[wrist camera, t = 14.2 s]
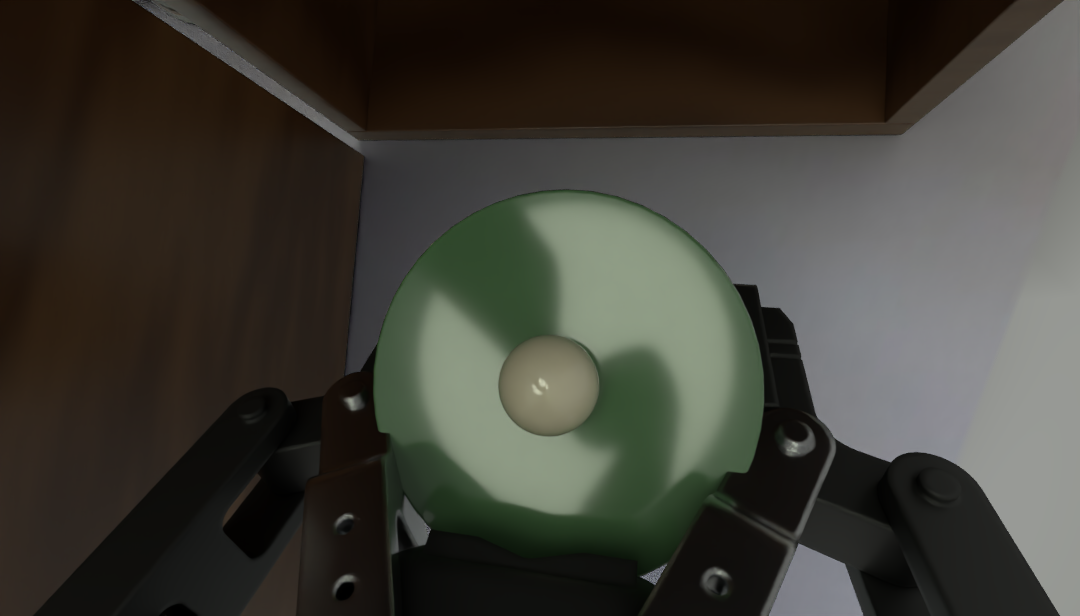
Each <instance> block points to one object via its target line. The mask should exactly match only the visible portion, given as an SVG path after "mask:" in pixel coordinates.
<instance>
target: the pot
mask: <svg viewBox="0 0 1080 616" xmlns="http://www.w3.org/2000/svg"><path fill="white" fill-rule="evenodd" d="M373 397H374V409H375V418H376V422H377V427H378V431H380V432H383V433H390V437H391V441H392V445H393V450H394V454H395V458H396V462H397V467H398V471H399V475H400V479H401V484H402V488H403V491H404V495H405V496H406V498H407V499H408V501H409V502H410V504H411V506H412V507H413V508H414V510H415V511H416V512H417V513H418V514H419V516H420V517H421V518H422V519H423V520H424V522H425V523H426V524H427V525H428V526H429V527H430V528H431V529H432V530H438V531H445V532H451V533H458V534H465V535H471V536H478V537H480V538H483V539H485V540H487V541H489V542H491V543H493V544H496V545H498V546H500V547H502V548H504V549H506V550H509V551H511V552H513V553H515V554H517V555H519V556H522V557H524V558H540V557H549V556H558V555H566V554H575V553H590V554H596V555H603V556H609V557H616V558H623V559H629V560H636V561H638V564H637V576H638V577H640V576H643V575H646V574H648V573H650V572H652V571H654V570H656V569H658V568H660V567H662V566H664V565H666V564H668V562H669V560H670V559H671V557H672V555H673V554H674V552H675V550H676V548H677V547H678V545H679V543H680V541H681V540H682V538H683V536H684V535H685V533H686V531H687V529H688V528H689V526H690V524H691V522H692V521H693V519H694V517H695V516H696V514H697V512H698V510H699V509H700V507H701V505H702V504H703V502H704V501H705V499H706V498H707V497H708V496H709V495H710V494H712V495H713V494H714V493H715V492H716V490H717V489H718V487H719V485H720V483H721V482H722V480H723V478H724V476H725V475H726V473H727V471H729V472H738V473H745V472H748V470H749V468H750V466H751V464H752V461H753V459H754V456H755V452H756V448H757V445H758V441H759V437H760V433H761V429H762V420H763V411H764V402H765V399H764V371H763V365H762V359H761V353H760V347H759V343H758V340H757V337H756V333H755V330H754V327H753V324H752V321H751V318H750V316H749V313H748V311H747V309H746V307H745V305H744V303H743V301H742V299H741V296H740V294H739V292H738V291H737V289H736V288H735V286H734V285H733V283H732V282H731V280H730V278H729V277H728V275H727V274H726V272H725V271H724V269H723V268H722V267H721V266H720V265H719V264H718V262H717V261H716V260H715V259H714V258H713V256H712V255H711V254H710V253H709V252H708V251H707V249H705V248H704V247H703V246H702V245H701V244H700V243H699V242H698V241H697V240H695V239H694V238H693V237H692V236H691V235H690V234H689V233H688V232H687V231H685V230H684V229H682V228H681V227H679V226H678V225H676V224H675V223H673V222H672V221H670V220H669V219H668V218H666V217H665V216H663V215H661V214H659V213H657V212H655V211H653V210H651V209H649V208H647V207H645V206H643V205H640V204H638V203H635V202H632V201H629V200H626V199H623V198H620V197H618V196H613V195H608V194H603V193H599V192H594V191H583V190H569V189H564V190H547V191H538V192H533V193H528V194H522V195H518V196H515V197H512V198H508V199H505V200H502V201H499V202H496V203H494V204H492V205H490V206H487V207H485V208H483V209H481V210H479V211H477V212H475V213H473V214H471V215H470V216H468V217H467V218H465V219H463V220H462V221H460V222H459V223H457V224H456V225H454V226H453V227H451V228H450V229H449V230H448V231H447V232H445V233H444V234H443V235H442V236H441V237H439V238H438V239H437V240H436V241H435V242H434V243H433V244H432V245H431V246H430V247H429V248H428V249H427V250H426V251H425V252H424V253H423V254H422V255H421V256H420V258H419V259H418V260H417V261H416V263H415V264H414V265H413V267H412V268H411V269H410V271H409V272H408V274H407V275H406V276H405V278H404V279H403V281H402V283H401V285H400V287H399V288H398V290H397V292H396V294H395V296H394V297H393V299H392V302H391V304H390V307H389V309H388V311H387V314H386V316H385V319H384V321H383V325H382V329H381V332H380V336H379V340H378V343H377V349H376V356H375V363H374V376H373Z"/></svg>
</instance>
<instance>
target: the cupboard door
mask: <svg viewBox="0 0 1080 616" xmlns="http://www.w3.org/2000/svg"><path fill="white" fill-rule="evenodd" d="M363 164H364V156H363V155H362V154H360V153H359V152H357V151H356V150H354V149H353V148H351V147H350V146H348V145H347V144H346V143H344V142H343V141H341V140H340V139H338V138H337V137H335V136H334V135H332V134H331V133H329V132H328V131H326V130H325V129H323V128H322V127H320V126H319V125H317V124H316V123H314V122H313V121H311V120H310V119H308V118H307V117H305V116H304V115H302V114H301V113H299V112H298V111H296V110H295V109H293V108H292V107H290V106H289V105H287V104H286V103H284V102H283V101H281V100H280V99H278V98H277V97H275V96H274V95H272V94H271V93H269V92H268V91H266V90H265V89H264V88H262V87H261V86H259V85H258V84H256V83H255V82H253V81H252V80H250V79H249V78H247V77H246V76H244V75H243V74H241V73H240V72H238V71H237V70H235V69H234V68H232V67H231V66H229V65H228V64H226V63H225V62H223V61H222V60H220V59H219V58H217V57H216V56H214V55H213V54H211V53H210V52H208V51H207V50H205V49H204V48H202V47H201V46H199V45H198V44H196V43H195V42H193V41H192V40H190V39H189V38H187V37H186V36H184V35H183V34H182V33H180V32H179V31H177V30H176V29H174V28H173V27H171V26H170V25H168V24H167V23H165V22H164V21H162V20H161V19H159V18H158V17H156V16H155V15H153V14H152V13H150V12H149V11H147V10H146V9H144V8H143V7H141V6H140V5H138V4H137V3H135V2H134V1H132V0H0V616H33V615H34V614H35V613H36V612H37V611H38V610H39V609H40V608H41V606H42V605H43V604H44V603H45V602H46V601H47V600H48V599H49V598H50V597H51V596H52V595H53V594H54V593H55V592H56V591H57V589H58V588H59V587H60V586H61V585H62V584H63V583H64V582H65V581H66V580H67V579H68V578H69V577H70V576H71V575H72V573H73V572H74V571H75V570H76V569H77V568H78V567H79V566H80V565H81V564H82V563H83V562H84V561H85V560H86V559H87V557H88V556H89V555H90V554H91V553H92V552H93V551H94V550H95V549H96V548H97V547H98V546H99V545H100V544H101V543H102V541H103V540H104V539H105V538H106V537H107V536H108V535H109V534H110V533H111V532H112V531H113V530H114V529H115V528H116V527H117V525H118V524H119V523H120V522H121V521H122V520H123V519H124V518H125V517H126V516H127V515H128V514H129V513H130V512H131V511H132V509H133V508H134V507H135V506H136V505H137V504H138V503H139V502H140V501H141V500H142V499H143V498H144V497H145V496H146V495H147V493H148V492H149V491H150V490H151V489H152V488H153V487H154V486H155V485H156V484H157V483H158V482H159V481H160V480H161V479H162V478H163V476H164V475H165V474H166V473H167V472H168V471H169V470H170V469H171V468H172V467H173V466H174V465H175V464H176V463H177V462H178V460H179V459H180V458H181V457H182V456H183V455H184V454H185V453H186V452H187V451H188V450H189V449H190V448H191V447H192V446H193V444H194V443H195V442H196V441H197V440H198V439H199V438H200V437H201V436H202V435H203V434H204V433H205V432H206V431H207V430H208V428H209V427H210V426H211V425H212V424H213V423H214V422H215V421H216V420H217V419H218V418H219V417H220V416H221V415H222V414H223V412H224V411H225V410H226V409H227V408H228V407H229V406H230V405H231V404H232V403H233V402H234V401H236V400H237V399H238V398H240V397H241V396H243V395H244V394H246V393H248V392H251V391H253V390H256V389H260V388H265V387H273V388H278V389H280V390H282V391H283V392H284V393H285V394H286V396H287V397H288V399H289V401H290V402H292V401H298V400H303V399H309V398H314V397H320V396H324V395H325V394H326V392H327V390H328V389H329V388H330V387H331V386H332V385H333V384H334V383H335V382H336V381H338V380H339V379H341V378H343V377H344V372H345V361H346V350H347V339H348V328H349V317H350V306H351V295H352V284H353V274H354V263H355V252H356V241H357V230H358V219H359V208H360V197H361V186H362V175H363ZM260 479H261V477H260V476H259V475H258V473H257V474H256V475H255V477H254V478H253V479H252V480H251V482H250V483H249V484H248V485H247V487H246V488H245V489H244V490H243V492H242V493H241V494H240V495H239V497H238V498H237V499H236V500H235V502H234V503H233V504H232V505H231V507H230V508H229V509H228V511H227V513H226V515H225V517H224V520H223V526H224V525H225V524H226V523H227V521H228V520H229V519H230V517H231V516H232V515H233V514H234V512H235V511H236V510H237V509H238V507H239V506H240V505H241V503H242V502H243V501H244V500H245V498H246V497H247V496H248V494H249V493H250V492H251V491H252V489H253V488H254V487H255V486H256V484H257V483H258V482H259V480H260ZM301 537H302V524H301V526H300V527H299V529H298V530H297V532H296V533H295V535H294V536H293V538H292V539H291V540H290V542H289V543H288V545H287V546H286V548H285V549H284V551H283V552H282V554H281V555H280V557H279V558H278V560H277V561H276V563H275V564H274V566H273V567H272V569H271V570H270V572H269V573H268V575H267V576H266V578H265V579H264V581H263V582H262V584H261V585H260V587H259V588H258V590H257V591H256V593H255V594H254V596H253V597H252V599H251V600H250V602H249V603H248V605H247V606H246V608H245V609H244V611H243V612H242V613H241V615H240V616H296V607H297V593H298V579H299V565H300V551H301Z"/></svg>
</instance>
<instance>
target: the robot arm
mask: <svg viewBox="0 0 1080 616" xmlns="http://www.w3.org/2000/svg"><path fill="white" fill-rule="evenodd" d="M150 1H151V2H153V3H154V4H155V5H157V6H158V7H160V8H161V9H162V10H164V11H165V12H167V13H168V14H170V15H171V16H173V17H175V18H177V19H179V20H181V21H184V22H188V23H192V24H194V23H193V22H191V21H190V20H189V19H187V18H186V17H184V16H183V15H182V14H180V13H179V12H177V11H176V10H175V9H173V8H172V7H170V6H169V5H167V4H166V3H165V2H163V1H162V0H150ZM733 285H734V286H735V288H736V289H737V291H738V292H739V294H740V296H741V299H742V301H743V303H744V305H745V307H746V309H747V311H748V313H749V316H750V318H751V321H752V324H753V327H754V330H755V333H756V337H757V340H758V343H759V347H760V353H761V359H762V365H763V371H764V399H765V402H764V411H763V420H762V429H761V433H760V437H759V441H758V445H757V448H756V452H755V456H754V459H753V461H752V464H751V466H750V468H749V470H748V472H745V473H738V472H729V471H727V473H726V475H725V476H724V478H723V480H722V482H721V483H720V485H719V487H718V489H717V490H716V492H715V493H714V494H713V495H712V494H710V495H709V496H708V497H707V498H706V499H705V501H704V502H703V504H702V505H701V507H700V509H699V510H698V512H697V514H696V516H695V517H694V519H693V521H692V522H691V524H690V526H689V528H688V529H687V531H686V533H685V535H684V536H683V538H682V540H681V541H680V543H679V545H678V547H677V548H676V550H675V552H674V554H673V555H672V557H671V559H670V560H669V562H668V564H667V566H666V567H665V569H664V571H663V572H662V574H661V576H660V578H659V579H658V581H657V583H656V585H654V584H652V583H651V582H649V581H647V580H645V579H643V578H640V577H638V576H637V564H638V561H636V560H629V559H623V558H616V557H609V556H603V555H596V554H590V553H575V554H566V555H558V556H549V557H540V558H524V557H522V556H519V555H517V554H515V553H513V552H511V551H509V550H506V549H504V548H502V547H500V546H498V545H496V544H493V543H491V542H489V541H487V540H485V539H483V538H480V537H478V536H471V535H465V534H458V533H451V532H445V531H438V530H432V529H431V531H430V533H429V536H428V534H427V530H426V526H425V522H424V520H423V519H422V518H421V517H420V516H419V514H418V513H417V512H416V511H415V510H414V508H413V507H412V506H411V504H410V502H409V501H408V499H407V498H406V496H405V495H404V491H403V488H402V484H401V479H400V475H399V471H398V467H397V462H396V458H395V454H394V450H393V445H392V441H391V437H390V433H383V432H380V431H378V427H377V422H376V418H375V409H374V397H373V376H374V363H375V356H376V349H377V345H376V346H375V348H374V349H373V351H372V353H371V354H370V356H369V358H368V359H367V361H366V363H365V364H364V366H363V368H362V369H361V371H360V372H355V373H352V374H349V375H347V376H344V377H343V378H341V379H339V380H338V381H336V382H335V383H334V384H333V385H332V386H331V387H330V388H329V389H328V390H327V392H326V394H325V395H324V396H320V397H314V398H309V399H303V400H298V401H292V402H290V401H289V399H288V397H287V396H286V394H285V393H284V392H283V391H282V390H280V389H278V388H273V387H265V388H260V389H256V390H253V391H251V392H248V393H246V394H244V395H243V396H241V397H240V398H238V399H237V400H236V401H234V402H233V403H232V404H231V405H230V406H229V407H228V408H227V409H226V410H225V411H224V412H223V414H222V415H221V416H220V417H219V418H218V419H217V420H216V421H215V422H214V423H213V424H212V425H211V426H210V427H209V428H208V430H207V431H206V432H205V433H204V434H203V435H202V436H201V437H200V438H199V439H198V440H197V441H196V442H195V443H194V444H193V446H192V447H191V448H190V449H189V450H188V451H187V452H186V453H185V454H184V455H183V456H182V457H181V458H180V459H179V460H178V462H177V463H176V464H175V465H174V466H173V467H172V468H171V469H170V470H169V471H168V472H167V473H166V474H165V475H164V476H163V478H162V479H161V480H160V481H159V482H158V483H157V484H156V485H155V486H154V487H153V488H152V489H151V490H150V491H149V492H148V493H147V495H146V496H145V497H144V498H143V499H142V500H141V501H140V502H139V503H138V504H137V505H136V506H135V507H134V508H133V509H132V511H131V512H130V513H129V514H128V515H127V516H126V517H125V518H124V519H123V520H122V521H121V522H120V523H119V524H118V525H117V527H116V528H115V529H114V530H113V531H112V532H111V533H110V534H109V535H108V536H107V537H106V538H105V539H104V540H103V541H102V543H101V544H100V545H99V546H98V547H97V548H96V549H95V550H94V551H93V552H92V553H91V554H90V555H89V556H88V557H87V559H86V560H85V561H84V562H83V563H82V564H81V565H80V566H79V567H78V568H77V569H76V570H75V571H74V572H73V573H72V575H71V576H70V577H69V578H68V579H67V580H66V581H65V582H64V583H63V584H62V585H61V586H60V587H59V588H58V589H57V591H56V592H55V593H54V594H53V595H52V596H51V597H50V598H49V599H48V600H47V601H46V602H45V603H44V604H43V605H42V606H41V608H40V609H39V610H38V611H37V612H36V613H35V614H34V615H33V616H240V615H241V613H242V612H243V611H244V609H245V608H246V606H247V605H248V603H249V602H250V600H251V599H252V597H253V596H254V594H255V593H256V591H257V590H258V588H259V587H260V585H261V584H262V582H263V581H264V579H265V578H266V576H267V575H268V573H269V572H270V570H271V569H272V567H273V566H274V564H275V563H276V561H277V560H278V558H279V557H280V555H281V554H282V552H283V551H284V549H285V548H286V546H287V545H288V543H289V542H290V540H291V539H292V538H293V536H294V535H295V533H296V532H297V530H298V529H299V527H300V526H301V524H302V537H301V551H300V565H299V579H298V593H297V607H296V616H768V615H769V613H770V611H771V608H772V606H773V603H774V601H775V599H776V596H777V594H778V592H779V589H780V587H781V584H782V582H783V580H784V577H785V575H786V572H787V570H788V568H789V565H790V563H791V561H792V558H793V556H794V553H795V551H796V548H797V546H798V543H799V544H802V545H804V546H806V547H808V548H811V549H813V550H815V551H817V552H820V553H822V554H824V555H826V556H829V557H831V558H833V559H835V560H838V561H840V562H842V563H845V565H846V567H847V570H848V573H849V576H850V579H851V582H852V584H853V587H854V590H855V593H856V596H857V598H858V601H859V604H860V607H861V610H862V612H863V615H864V616H1060V615H1059V614H1058V612H1057V610H1056V609H1055V607H1054V605H1053V604H1052V603H1051V601H1050V599H1049V597H1048V596H1047V594H1046V592H1045V591H1044V589H1043V588H1042V586H1041V585H1040V583H1039V581H1038V580H1037V578H1036V576H1035V575H1034V573H1033V571H1032V570H1031V568H1030V566H1029V565H1028V563H1027V562H1026V560H1025V558H1024V557H1023V555H1022V554H1021V552H1020V551H1019V549H1018V547H1017V545H1016V544H1015V543H1014V541H1013V539H1012V537H1011V536H1010V534H1009V532H1008V531H1007V529H1006V528H1005V526H1004V524H1003V523H1002V521H1001V520H1000V518H999V516H998V515H997V513H996V511H995V510H994V508H993V507H992V505H991V503H990V502H989V500H988V498H987V497H986V495H985V493H984V492H983V490H982V489H981V487H980V486H979V485H978V483H977V482H976V481H975V480H974V479H973V478H972V477H971V476H970V475H969V474H968V473H967V472H966V471H964V470H963V469H962V468H960V467H959V466H957V465H956V464H954V463H952V462H950V461H948V460H946V459H944V458H941V457H938V456H935V455H932V454H927V453H919V452H914V453H906V454H902V455H900V456H898V457H896V458H895V459H894V460H893V461H892V462H888V461H885V460H882V459H879V458H876V457H873V456H871V455H868V454H865V453H862V452H859V451H857V450H854V449H852V448H850V447H848V446H846V445H844V444H842V443H841V442H839V441H838V440H836V439H835V438H834V437H833V435H832V433H831V432H830V430H829V429H828V428H827V427H826V426H825V424H823V423H822V422H821V421H820V420H819V419H818V418H817V416H816V413H815V410H814V406H813V402H812V398H811V394H810V390H809V386H808V382H807V378H806V373H805V369H804V365H803V361H802V360H801V353H800V349H799V345H797V342H798V341H797V337H796V333H795V329H794V325H793V323H792V322H791V321H790V320H789V319H788V317H787V316H786V315H785V314H784V313H783V312H782V310H781V309H780V308H768V307H761V304H760V299H759V293H758V288H757V286H756V285H745V284H733ZM257 473H258V475H259V476H260V477H261V479H260V480H259V482H258V483H257V484H256V486H255V487H254V488H253V489H252V491H251V492H250V493H249V494H248V496H247V497H246V498H245V500H244V501H243V502H242V503H241V505H240V506H239V507H238V509H237V510H236V511H235V512H234V514H233V515H232V516H231V517H230V519H229V520H228V521H227V523H226V524H225V525H224V526H223V520H224V517H225V515H226V513H227V511H228V509H229V508H230V507H231V505H232V504H233V503H234V502H235V500H236V499H237V498H238V497H239V495H240V494H241V493H242V492H243V490H244V489H245V488H246V487H247V485H248V484H249V483H250V482H251V480H252V479H253V478H254V477H255V475H256V474H257Z"/></svg>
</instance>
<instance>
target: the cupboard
mask: <svg viewBox="0 0 1080 616" xmlns="http://www.w3.org/2000/svg"><path fill="white" fill-rule="evenodd" d="M162 1H163V2H165V3H166V4H167V5H169V6H170V7H172V8H173V9H175V10H176V11H177V12H179V13H180V14H182V15H183V16H184V17H186V18H187V19H189V20H190V21H191V22H193V23H194V24H196V25H197V26H198V27H200V28H201V29H203V30H204V31H205V32H207V33H208V34H210V35H211V36H212V37H214V38H215V39H217V40H218V41H219V42H221V43H222V44H224V45H225V46H227V47H228V48H229V49H231V50H232V51H234V52H235V53H236V54H238V55H239V56H241V57H242V58H243V59H245V60H246V61H248V62H249V63H250V64H252V65H253V66H255V67H256V68H257V69H259V70H260V71H262V72H263V73H264V74H266V75H267V76H269V77H270V78H271V79H273V80H274V81H276V82H277V83H279V84H280V85H281V86H283V87H284V88H286V89H287V90H288V91H290V92H291V93H293V94H294V95H295V96H297V97H298V98H300V99H301V100H302V101H304V102H305V103H307V104H308V105H309V106H311V107H312V108H314V109H315V110H316V111H318V112H319V113H321V114H322V115H323V116H325V117H326V118H328V119H329V120H331V121H332V122H333V123H335V124H336V125H338V126H339V127H340V128H342V129H343V130H345V131H347V132H348V133H349V134H350V135H352V136H353V137H355V138H356V139H357V140H427V139H519V138H611V137H703V136H795V135H887V134H903V133H904V132H906V131H907V130H908V129H909V128H910V127H912V126H913V125H914V124H915V123H917V122H918V121H919V120H920V119H921V118H923V117H924V116H925V115H926V114H927V113H929V112H930V111H931V110H932V109H933V108H935V107H936V106H937V105H938V104H939V103H941V102H942V101H943V100H944V99H945V98H947V97H948V96H949V95H950V94H951V93H953V92H954V91H955V90H956V89H958V88H959V87H960V86H961V85H962V84H964V83H965V82H966V81H967V80H968V79H970V78H971V77H972V76H973V75H974V74H976V73H977V72H978V71H979V70H980V69H982V68H983V67H984V66H985V65H986V64H988V63H989V62H990V61H991V60H992V59H994V58H995V57H996V56H997V55H998V54H1000V53H1001V52H1002V51H1003V50H1005V49H1006V48H1007V47H1008V46H1009V45H1011V44H1012V43H1013V42H1014V41H1015V40H1017V39H1018V38H1019V37H1020V36H1021V35H1023V34H1024V33H1025V32H1026V31H1027V30H1029V29H1030V28H1031V27H1032V26H1033V25H1035V24H1036V23H1037V22H1038V21H1039V20H1041V19H1042V18H1043V17H1044V16H1045V15H1047V14H1048V13H1049V12H1050V11H1052V10H1053V9H1054V8H1055V7H1056V6H1058V5H1059V4H1060V3H1061V2H1062V1H1064V0H162Z"/></svg>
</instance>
